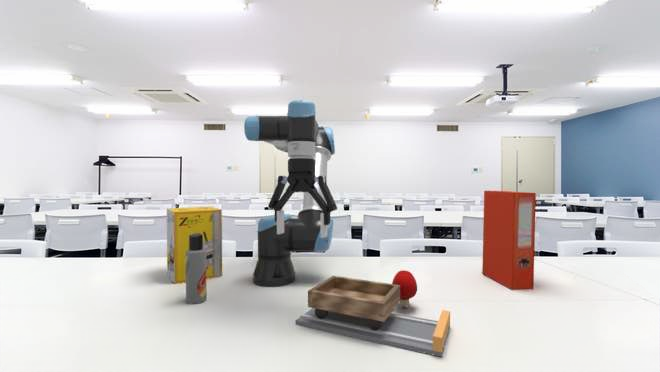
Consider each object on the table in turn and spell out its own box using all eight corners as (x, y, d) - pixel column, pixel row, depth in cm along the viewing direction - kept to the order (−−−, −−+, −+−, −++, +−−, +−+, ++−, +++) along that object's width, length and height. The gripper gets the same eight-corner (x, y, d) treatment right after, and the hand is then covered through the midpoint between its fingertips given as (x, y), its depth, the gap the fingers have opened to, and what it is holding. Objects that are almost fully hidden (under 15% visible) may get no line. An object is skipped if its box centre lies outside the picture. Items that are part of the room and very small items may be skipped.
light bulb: (418, 315, 89) (418, 278, 89) (391, 313, 90) (391, 276, 90) (416, 302, 98) (416, 268, 98) (392, 300, 99) (392, 267, 99)
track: (295, 324, 83) (295, 308, 83) (323, 303, 97) (323, 290, 97) (441, 357, 68) (441, 337, 68) (450, 327, 82) (450, 311, 82)
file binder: (502, 274, 127) (503, 190, 126) (534, 289, 110) (535, 192, 109) (482, 274, 126) (483, 190, 126) (511, 289, 109) (512, 192, 108)
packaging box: (222, 276, 124) (221, 209, 123) (174, 284, 115) (174, 211, 114) (210, 266, 137) (210, 206, 136) (167, 273, 128) (166, 208, 127)
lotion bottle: (210, 298, 101) (210, 233, 100) (197, 305, 95) (196, 236, 95) (195, 296, 103) (194, 232, 102) (181, 303, 97) (181, 234, 97)
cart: (307, 318, 82) (307, 290, 82) (332, 299, 95) (332, 275, 95) (384, 335, 74) (384, 303, 74) (400, 311, 87) (400, 285, 86)
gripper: (255, 158, 93) (256, 234, 93) (338, 156, 83) (338, 241, 83) (271, 159, 100) (271, 230, 100) (348, 157, 90) (348, 236, 90)
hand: (301, 235), depth 92 cm, fingers open, 13 cm apart
